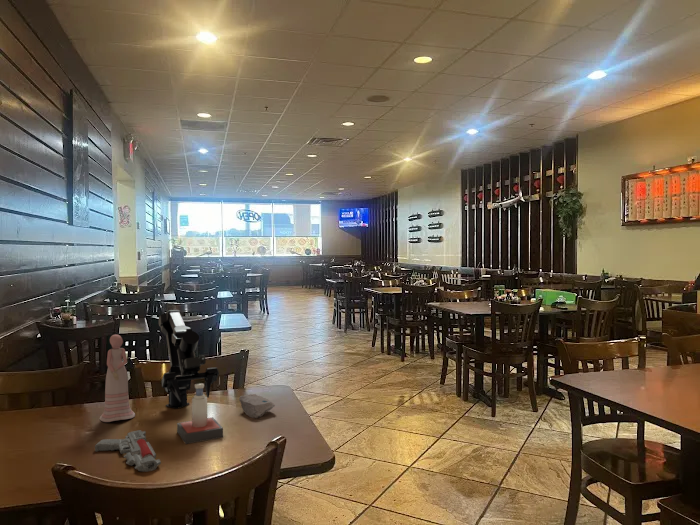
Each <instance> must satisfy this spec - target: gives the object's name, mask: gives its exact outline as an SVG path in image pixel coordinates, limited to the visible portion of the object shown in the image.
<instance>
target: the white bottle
mask: <svg viewBox="0 0 700 525" xmlns="http://www.w3.org/2000/svg"><path fill="white" fill-rule="evenodd" d="M204 388H205V383H202V382H201V383H200V382H198V383H195V384H194V389H195V394H194V395H193V396H192V398H191V421H192V426H193V427H204V426H206V425H207V418H208V398H207V395H206V393H204Z"/></svg>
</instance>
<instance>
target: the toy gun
mask: <svg viewBox="0 0 700 525" xmlns="http://www.w3.org/2000/svg"><path fill="white" fill-rule="evenodd" d="M146 434H147V432H146V430H143V431H142V430H141V429H138V430H133V431H130V432H128V433H127V435H125V438H110V439H109V438H108V439H107V438H106V439H105V438H104V439H101V440H100V441H98V442H97V443H96V444H95V446H94V452H105V451H106V452H107V451H112V452H113V451H119V452H120V454H124V455H123V458H125V459H126V462H125V463H126V465H128V466H134V465H135V466H134V467H133V468H134V469H135V470H137V471H138V472H143V473H144V472H146V473H147V472H152V471H155V470H157V467H158V466H159V465H161V464H162V461H161V459H160V458H158V459H156V458H157V453H156V452H155V450H154V448H153V446H152V444H151V443H150V441H147V435H146Z"/></svg>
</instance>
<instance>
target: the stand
mask: <svg viewBox="0 0 700 525" xmlns="http://www.w3.org/2000/svg"><path fill="white" fill-rule="evenodd" d="M176 431H177V434H178V435H179V437H180V439H181V440H182V441H183V443H184V444H185V445H187V444H192V443H200V442H205V441H210V440H215V439H220V438H224V428H223V427H222V425H221V424H220V423H219V422H218V421H217V420H216V419H215V418H214V417H207V425H206V426H204V427H193V426H192V420H189V421H188V420H187V421H181V422H177V423H176Z"/></svg>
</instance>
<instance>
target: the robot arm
mask: <svg viewBox="0 0 700 525" xmlns="http://www.w3.org/2000/svg"><path fill="white" fill-rule="evenodd" d="M182 316H183V315H182V313H181V310H179V309H169V310H167V311H166V312H164V313H162V314H160V315H159V317H158V326H159V327H160V331H161V333H162V334H163V335H164V336H165V337H166V345H167V352H168V357H169V358H168V360H169V365H170V368H169V370H168V372H164V374H162V378H161V387H162V388H163V389H164V390H165V392H166V393H168V404H166V405H165V407H167V408H171V409H181V408H183V407H185V406H189V405H190V402H188V394H187V391H188V390H191V383H192V380H200V379H204V381H205V382H204V388H205V396H206V397H207V399H208V398H210V392H211V391H210V390H211V386H212V384H214V383H215V382H216V381H217V380H218V377H219V375H220V371H219V369H218V367H207V368H206V369H205V371H204V372H200V371H201V367H202V366H203V365H205V364H206V362H207V361H206V355H205V354H199V355H198V356H196V353H195V351H196V350H197V347H198V343H199V339H200V335H199V334H198V333H197V332H196V331H193V329H192V328H191V327H189V326H186V325H185V321H184V319H183V317H182Z"/></svg>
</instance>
